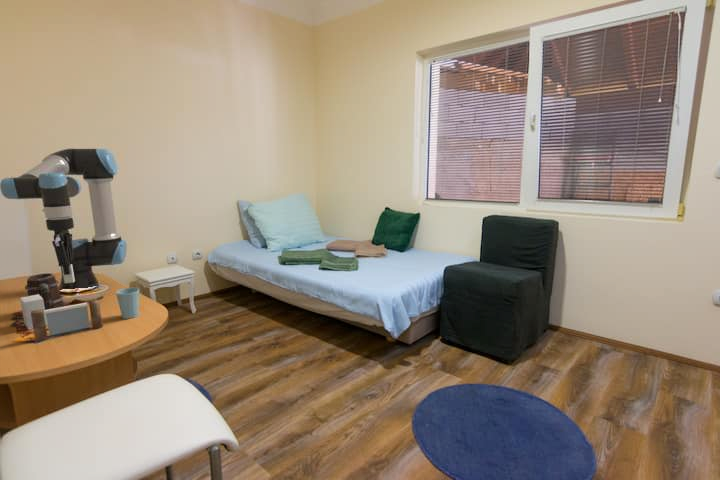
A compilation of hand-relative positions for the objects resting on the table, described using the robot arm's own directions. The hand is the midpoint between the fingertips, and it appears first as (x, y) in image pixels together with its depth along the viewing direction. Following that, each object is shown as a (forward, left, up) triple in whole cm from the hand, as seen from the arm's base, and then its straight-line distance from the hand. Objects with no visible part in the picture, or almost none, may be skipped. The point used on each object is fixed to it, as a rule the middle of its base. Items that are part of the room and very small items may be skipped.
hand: (69, 282), depth 140 cm
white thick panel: (+8, -2, -15) cm, 17 cm away
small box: (-8, -12, -16) cm, 22 cm away
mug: (-20, -9, -16) cm, 27 cm away
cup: (+3, +17, -16) cm, 24 cm away
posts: (+8, -2, -16) cm, 18 cm away
